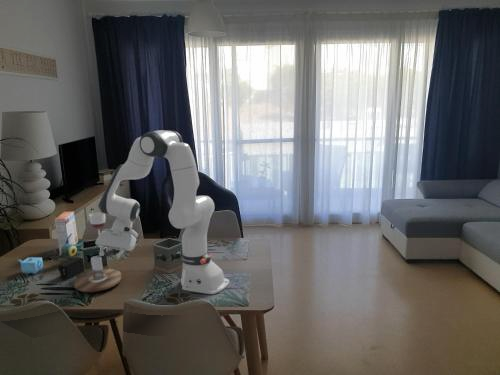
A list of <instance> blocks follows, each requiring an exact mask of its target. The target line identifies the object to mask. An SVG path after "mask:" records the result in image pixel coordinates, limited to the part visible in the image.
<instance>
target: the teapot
mask: <svg viewBox="0 0 500 375" xmlns="http://www.w3.org/2000/svg"><path fill="white" fill-rule="evenodd" d="M17 261H18V262H19V263H20V269H21V274H25V275H29V274H32V275H36V274H37V273H39V272H41V270H43V269H44V261H43V257H40V256H39V257H27V258H26V259H24V260H22V259H17Z"/></svg>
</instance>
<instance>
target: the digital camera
mask: <svg viewBox="0 0 500 375" xmlns="http://www.w3.org/2000/svg"><path fill="white" fill-rule="evenodd" d="M83 258H84V257H78V256H75V257H72V258H70V260H69V261H67V260H66V261H65V262H61V263H59V265H58V268H57V269H58V272H59V273H60V279H61V280H64V281H65V280H66V281H68V280H70V279H72V278H73V277H74V278H75V277H76V276H77V275H79V274H80V275H81V273H83V272H85V265H84V259H83Z"/></svg>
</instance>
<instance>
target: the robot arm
mask: <svg viewBox="0 0 500 375" xmlns="http://www.w3.org/2000/svg"><path fill="white" fill-rule="evenodd" d="M190 146H191V145H189V144H188V143H185V142H184V141H183V137H182V135H181V134H180V133H179V132H177V131H175V130H173V129H171V130H170V129H169V130H162V129H161V130H159V129H158V130H154V131H148V132H146V133H144V134H143V135H142V136H139V137H137V138H136V139H135V140H134V141H133V144H132V145H131V147H130V151H129V153H128V157H127V159H126V161H125V162H124V164H122V163H121V164H120V165H118V166H117V167H116V169H115V171H114V173H113V175H112V177H111V178H110V181H109V182H108V185H107V186H106V189H105V191H104V192H103V194H102V196H101V197H100V198H99V202H98V205H97V206H98V208H99V210H100V211H99V212H102V213H105V215H109V216H114V217H116V219H114V222H113V224H112V226H111V228H105V229H103V230H102V231H100V235H99V234H98V236H97V238H96V240H95V242H94V243H95V245H96V246H99V247H100V250H99V253H98V256H101V257H104V255H105V252H104V250H106V249H111V250H112V249H114V250H116V249H120V250H119V251H118V253H116V254H115V258H116V259H120V258H121V256H122V255H123V254H124V253H126V251H127V252H128V251H129V252H132V251H133V250H134V248H135V247H136V244H137V238H138V236H139V233H138V232H136V231H135V230H134V229H132V228H133V224H134V223H135V221H137V219H138V217H139V215H140V212H141V207H140V206H141V205H140V203H139V202H138V201H137V200H136V199H133V198H126V197H123V196H120V195H117V194H116V192H117V189H118V187H119V185H120V183H121V181H125V180H140V179H143V178H146V177H147V176H148V175H149V174H150V172H151V169H152V167H153V163H154V159H155V158H157V159H163V157H164V158H165V159H167V160H168V163H169V169H170V172H171V177H172V183H173V200H172V206H171V208H170V209H169V212H168V220H169V222H170V224H171V226H172V227H174V228H175V229H180V230H181V229H185V230H184V232H183V233H182V236H181V247H182V248H181V249H182V252H181V262H182V271H181V273H182V274H181V279H180V285H181V290H182V291H188V292H193V293H201V294H206V295H207V294H208V295H214V294H217V293H220V292H221V291H223V290H225V289H226V288H227V287H228V285H229V284H230V279H228V278H226V277H225V274H224V272H223V269H221V268H220V266H219V265H217V264H216V263H215V262H213V260H212V258H213V254H209V250H208V229H209V225H210V221H211V218H212V216H213V213H214V211H215V208H216V207H215V202H214V200H213V199H212V198H211V197H210V196H209V195H197V190H198V188H199V186H200V177H199V174H198V168H197V164H196V159H195V156H194V153H193V151H192V149H191V147H190ZM105 248H106V249H105Z"/></svg>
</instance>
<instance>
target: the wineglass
mask: <svg viewBox="0 0 500 375" xmlns="http://www.w3.org/2000/svg"><path fill="white" fill-rule="evenodd" d="M88 218H89V222H90V226H92V228H94V229H97V231H98V232H97V233H98V236H99V235H100V233H101V231H100V229H101V228H103V227H104V226H105V224H106V214H105V213H102V212H101V211H98V212H96V211H95V212H91V213H89V214H88Z"/></svg>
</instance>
